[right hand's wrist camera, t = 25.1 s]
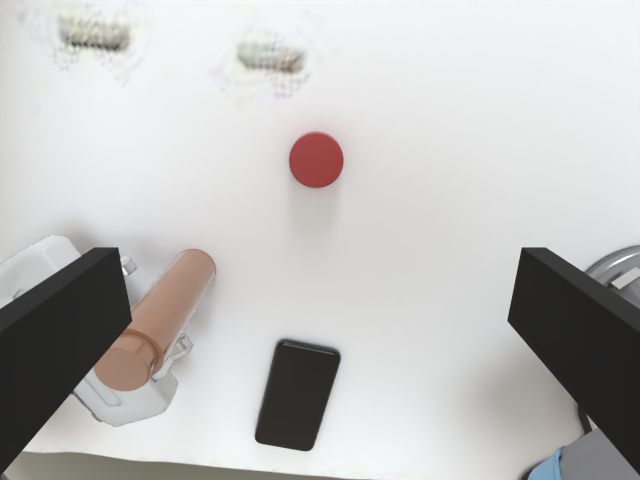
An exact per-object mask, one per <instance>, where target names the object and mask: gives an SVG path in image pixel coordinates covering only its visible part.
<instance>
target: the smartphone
mask: <svg viewBox="0 0 640 480" xmlns="http://www.w3.org/2000/svg"><path fill="white" fill-rule="evenodd" d="M340 360H341V356H340V354H339V352H337V351H336V350H332V349H327V348H322V347H317V346H312V345H307V344H302V343H297V342H292V341H286V340H283V341H280V342H279V343H278V344H277V345H276V348H275V352H274V356H273V360H272V365H271V369H270V373H269V377H268V381H267V386H266V390H265V394H264V398H263V402H262V406H261V410H260V414H259V418H258V423H257V427H256V432H255V440H256V441H257V442H258V443H261V444H265V445H271V446H277V447H282V448H288V449H294V450H300V451H310V450H311V449H312V448H313V446H314V444H315V441H316V438H317V434H318V432H319V429H320V425H321V422H322V419H323V415H324V412H325V409H326V406H327V402H328V399H329V396H330V393H331V390H332V386H333V383H334V380H335V377H336V374H337V370H338V367H339V364H340Z"/></svg>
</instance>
